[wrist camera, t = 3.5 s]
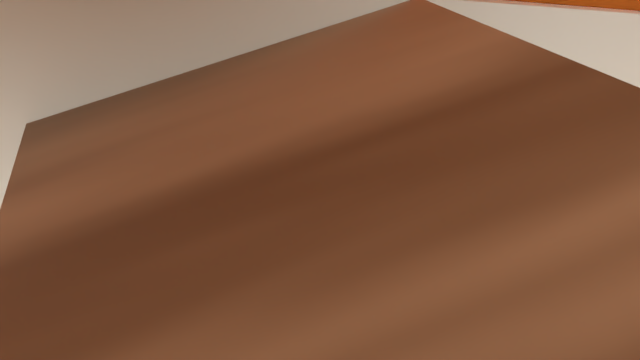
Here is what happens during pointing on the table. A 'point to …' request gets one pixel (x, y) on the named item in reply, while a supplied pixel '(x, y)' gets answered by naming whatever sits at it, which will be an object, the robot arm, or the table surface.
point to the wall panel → (234, 44)
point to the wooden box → (335, 206)
